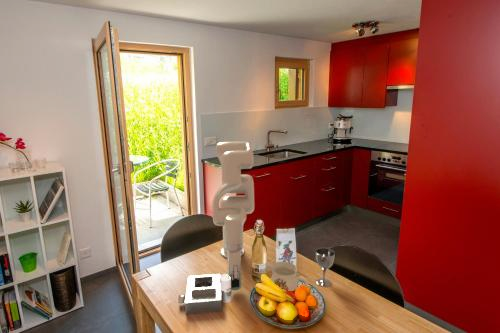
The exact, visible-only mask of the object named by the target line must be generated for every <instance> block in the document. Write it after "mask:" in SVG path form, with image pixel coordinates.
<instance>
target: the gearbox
mask: <svg viewBox="0 0 500 333" xmlns="http://www.w3.org/2000/svg"><path fill="white" fill-rule="evenodd" d="M220 278H221V273H213V274H200V275H188V277H187V284H186V292H185V294H179V295H178V304H184V310H185V315H193V314H202V313H215V312H222V311H223V309H222V308H223V306H222V286H221V285H222V283H220Z"/></svg>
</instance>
